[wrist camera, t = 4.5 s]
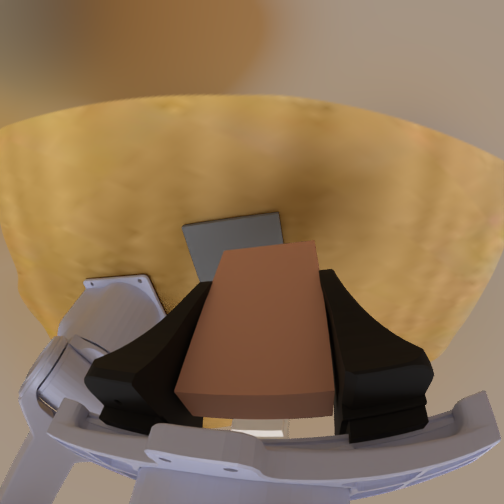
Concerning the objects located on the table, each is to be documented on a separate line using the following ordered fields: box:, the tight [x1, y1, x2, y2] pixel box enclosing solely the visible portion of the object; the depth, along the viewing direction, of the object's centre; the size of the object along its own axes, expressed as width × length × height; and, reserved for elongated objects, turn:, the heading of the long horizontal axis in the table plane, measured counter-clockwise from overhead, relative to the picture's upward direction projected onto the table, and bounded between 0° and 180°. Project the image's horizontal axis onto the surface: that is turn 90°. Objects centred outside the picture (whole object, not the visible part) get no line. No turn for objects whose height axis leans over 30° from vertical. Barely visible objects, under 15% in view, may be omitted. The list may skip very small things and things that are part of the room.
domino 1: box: [174, 240, 335, 419], centre depth 12 cm, size 5×2×9 cm, turn 101°
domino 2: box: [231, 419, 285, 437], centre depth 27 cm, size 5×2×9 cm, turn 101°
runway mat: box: [182, 212, 283, 282], centre depth 29 cm, size 8×27×1 cm, turn 11°
